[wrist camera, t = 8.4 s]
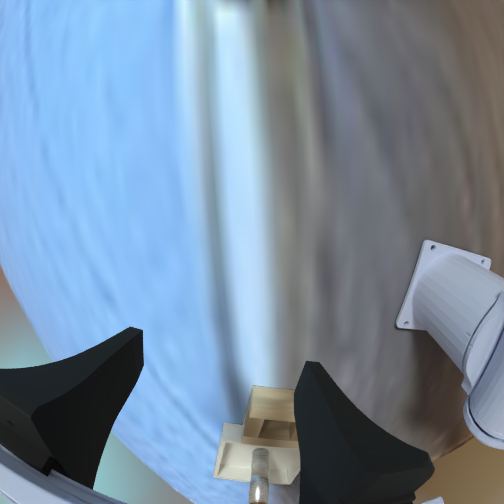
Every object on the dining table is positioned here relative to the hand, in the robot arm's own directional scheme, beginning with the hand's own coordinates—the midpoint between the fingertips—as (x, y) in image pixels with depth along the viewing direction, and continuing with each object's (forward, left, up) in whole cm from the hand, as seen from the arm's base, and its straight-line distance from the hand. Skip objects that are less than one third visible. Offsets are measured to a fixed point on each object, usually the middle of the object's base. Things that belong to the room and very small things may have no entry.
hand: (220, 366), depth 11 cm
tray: (-6, +22, -10) cm, 25 cm away
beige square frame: (-6, +14, -10) cm, 18 cm away
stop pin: (-6, +22, -10) cm, 25 cm away
